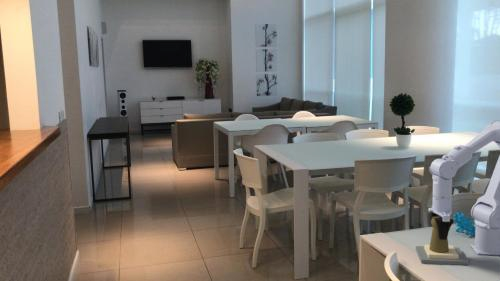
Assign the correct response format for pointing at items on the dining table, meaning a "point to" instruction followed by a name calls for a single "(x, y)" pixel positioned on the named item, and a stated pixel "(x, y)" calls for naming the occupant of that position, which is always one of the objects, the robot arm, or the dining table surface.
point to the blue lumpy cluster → (464, 224)
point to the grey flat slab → (441, 256)
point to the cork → (437, 240)
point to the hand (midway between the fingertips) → (441, 236)
